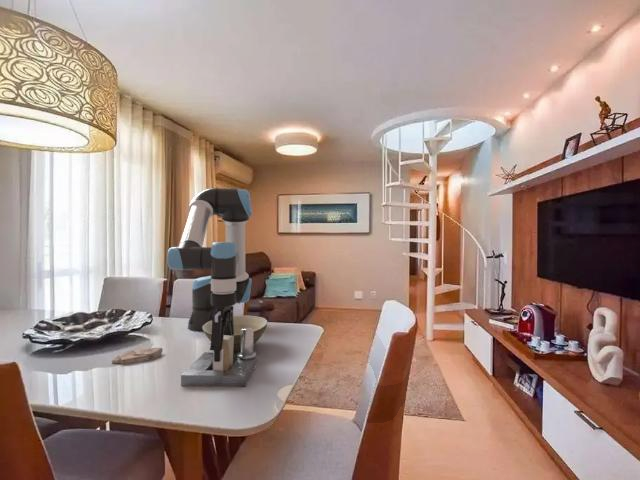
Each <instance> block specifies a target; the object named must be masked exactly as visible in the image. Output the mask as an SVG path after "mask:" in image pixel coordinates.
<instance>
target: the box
mask: <svg viewBox="0 0 640 480" xmlns="http://www.w3.org/2000/svg"><path fill="white" fill-rule="evenodd" d="M233 347H234V336H229V335H224V338H223V345H222V349H223V371H229V370H230V369H231V367H232V366H233ZM212 370H213V367H212Z"/></svg>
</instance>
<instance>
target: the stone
mask: <svg viewBox="0 0 640 480" xmlns="http://www.w3.org/2000/svg"><path fill="white" fill-rule="evenodd" d="M162 354H163V348H162V347H136V348H133V349H131V350H129V351H125V352H124V353H122V354H120V355H117V356H116V357H115V358H114V359H112V360H111V362H112V364H121V365H129V364H132V363H139V362H144V361H150V360H156V359H157V358H159V357H160V356H161V355H162Z"/></svg>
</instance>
